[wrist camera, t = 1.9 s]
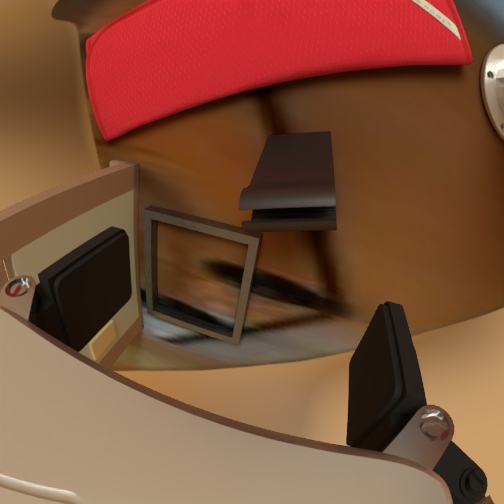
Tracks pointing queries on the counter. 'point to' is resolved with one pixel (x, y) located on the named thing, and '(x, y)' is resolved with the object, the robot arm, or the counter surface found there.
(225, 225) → the grey flat square frame
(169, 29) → the dish drying mat
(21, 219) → the tan picture frame
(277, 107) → the counter surface
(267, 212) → the phone stand
